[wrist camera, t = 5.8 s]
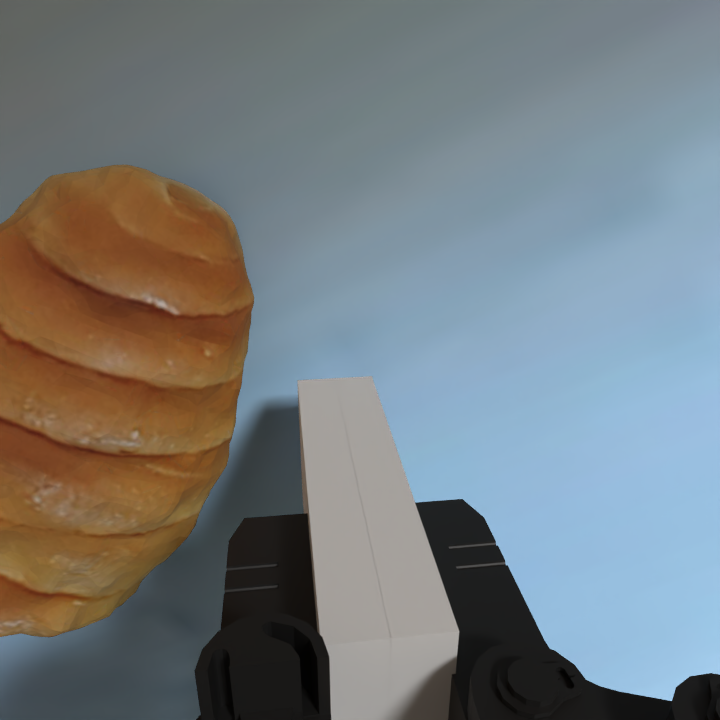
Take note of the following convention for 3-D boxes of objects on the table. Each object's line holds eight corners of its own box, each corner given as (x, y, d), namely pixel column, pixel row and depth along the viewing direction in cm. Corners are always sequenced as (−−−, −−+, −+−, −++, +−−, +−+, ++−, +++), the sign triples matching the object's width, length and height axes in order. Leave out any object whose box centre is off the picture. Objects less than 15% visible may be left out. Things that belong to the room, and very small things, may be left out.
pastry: (15, 80, 11) (-94, 79, 8) (336, 257, 14) (360, 318, 10) (-135, 474, 14) (-265, 602, 11) (153, 571, 16) (123, 704, 13)
